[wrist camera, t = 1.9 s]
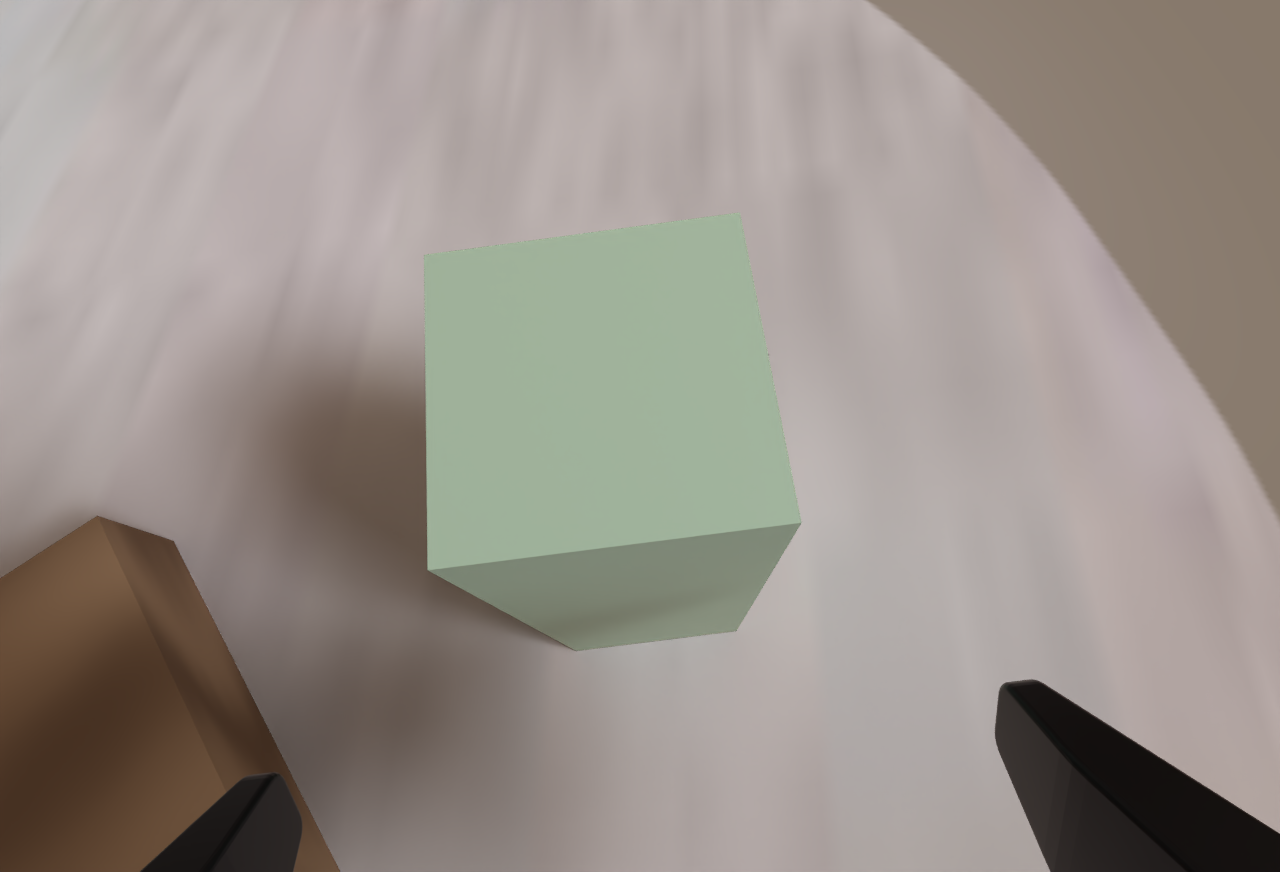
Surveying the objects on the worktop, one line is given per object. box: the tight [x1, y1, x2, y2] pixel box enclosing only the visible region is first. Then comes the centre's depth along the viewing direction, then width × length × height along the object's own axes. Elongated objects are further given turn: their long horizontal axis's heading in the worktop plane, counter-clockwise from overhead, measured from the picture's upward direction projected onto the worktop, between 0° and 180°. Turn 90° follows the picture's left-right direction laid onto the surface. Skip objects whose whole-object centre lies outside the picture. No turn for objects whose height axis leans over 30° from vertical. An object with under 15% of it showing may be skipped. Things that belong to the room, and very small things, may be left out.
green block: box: [424, 213, 801, 651], centre depth 15 cm, size 4×4×12 cm
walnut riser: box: [0, 516, 340, 872], centre depth 18 cm, size 11×11×4 cm
